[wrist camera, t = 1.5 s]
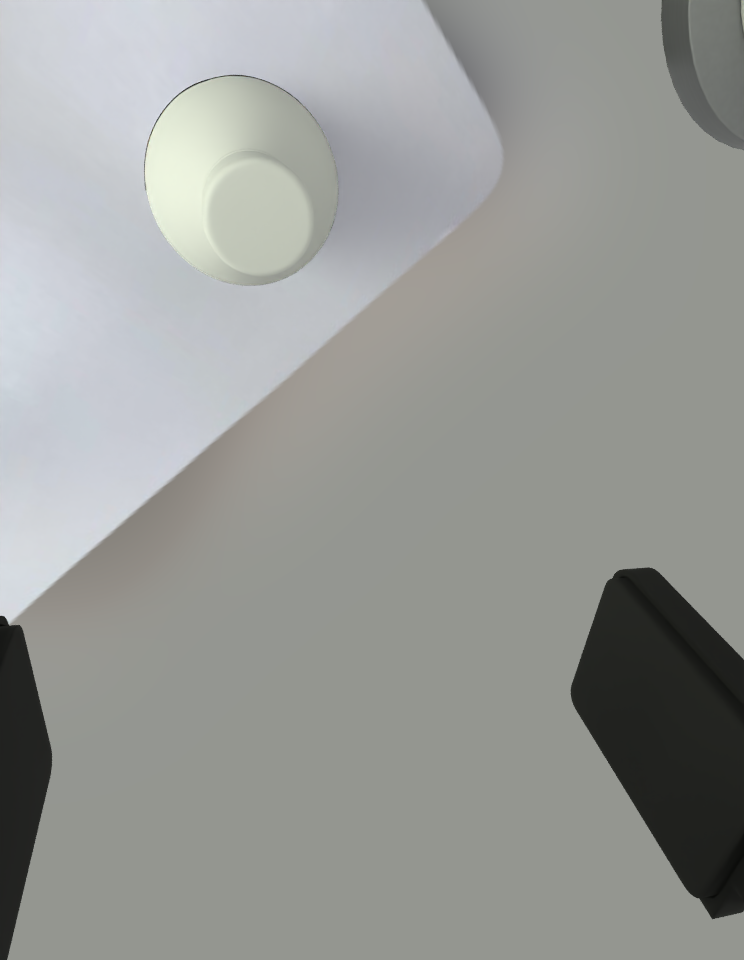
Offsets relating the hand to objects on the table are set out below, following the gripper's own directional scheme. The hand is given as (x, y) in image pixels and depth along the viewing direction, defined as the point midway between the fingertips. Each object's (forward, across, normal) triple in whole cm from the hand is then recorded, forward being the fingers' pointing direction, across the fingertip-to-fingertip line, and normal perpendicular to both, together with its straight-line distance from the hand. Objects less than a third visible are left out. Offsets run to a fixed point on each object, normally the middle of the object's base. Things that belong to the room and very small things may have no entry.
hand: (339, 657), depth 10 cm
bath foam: (+31, +1, -5) cm, 31 cm away
